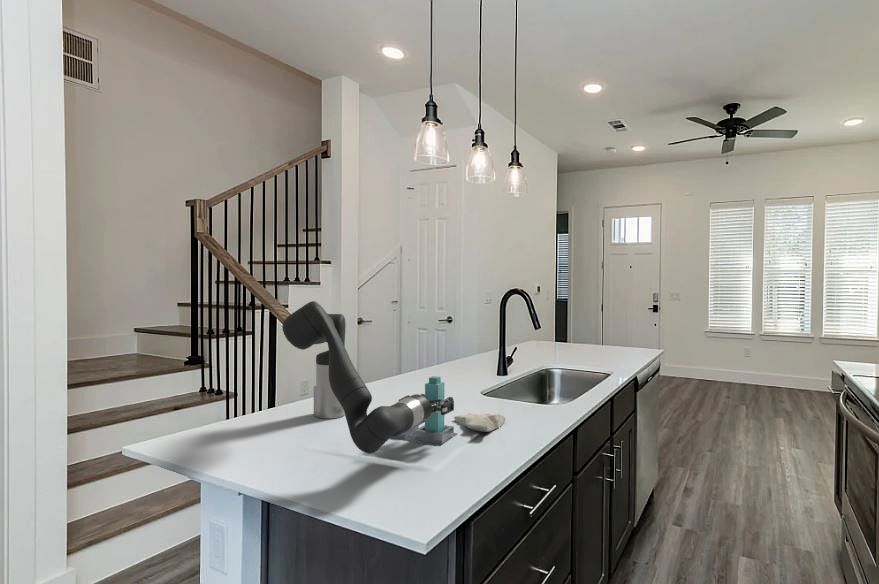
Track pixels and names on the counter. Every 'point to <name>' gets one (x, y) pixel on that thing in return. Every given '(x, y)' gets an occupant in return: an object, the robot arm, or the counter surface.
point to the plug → (435, 391)
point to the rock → (481, 421)
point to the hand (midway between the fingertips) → (437, 399)
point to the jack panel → (427, 435)
